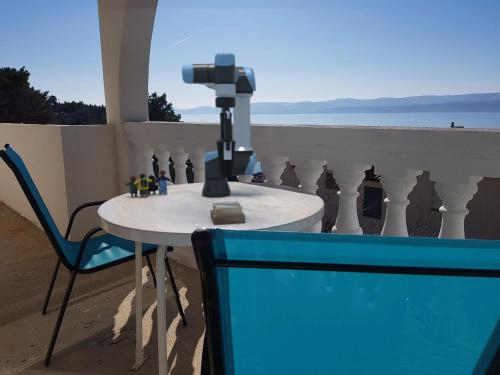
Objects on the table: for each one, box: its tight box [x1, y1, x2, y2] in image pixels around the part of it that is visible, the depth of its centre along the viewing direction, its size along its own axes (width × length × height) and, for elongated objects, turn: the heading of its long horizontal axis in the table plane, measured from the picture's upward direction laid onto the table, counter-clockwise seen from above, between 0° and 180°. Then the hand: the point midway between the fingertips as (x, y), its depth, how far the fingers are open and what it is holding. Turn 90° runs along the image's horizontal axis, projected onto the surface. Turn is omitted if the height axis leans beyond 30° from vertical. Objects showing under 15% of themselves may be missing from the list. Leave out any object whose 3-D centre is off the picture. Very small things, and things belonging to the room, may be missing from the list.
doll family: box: [124, 169, 173, 199], centre depth 192 cm, size 23×9×13 cm, turn 132°
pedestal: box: [209, 201, 246, 226], centre depth 146 cm, size 12×12×6 cm
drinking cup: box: [215, 138, 236, 178], centre depth 141 cm, size 8×8×20 cm
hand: (226, 158), depth 142 cm, fingers closed on drinking cup, 7 cm apart
